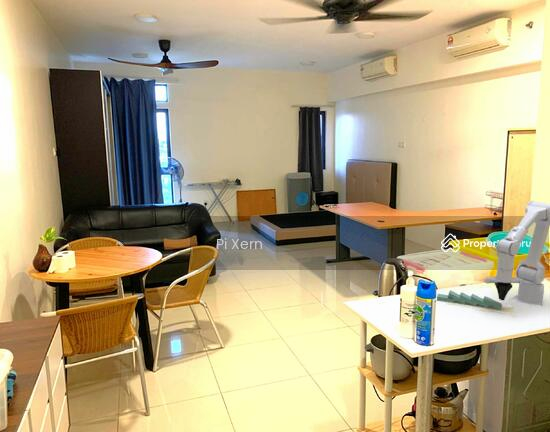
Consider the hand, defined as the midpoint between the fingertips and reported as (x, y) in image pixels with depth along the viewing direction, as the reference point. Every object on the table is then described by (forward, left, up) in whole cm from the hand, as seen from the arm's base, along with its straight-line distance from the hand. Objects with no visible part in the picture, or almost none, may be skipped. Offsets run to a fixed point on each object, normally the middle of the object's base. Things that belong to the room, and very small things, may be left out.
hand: (501, 299), depth 174 cm
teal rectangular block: (+9, 0, -3) cm, 10 cm away
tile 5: (+18, 0, -3) cm, 18 cm away
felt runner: (+8, 0, -4) cm, 9 cm away
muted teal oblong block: (+14, 0, -3) cm, 14 cm away
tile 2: (+5, 0, -3) cm, 6 cm away
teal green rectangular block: (0, 0, -3) cm, 3 cm away
